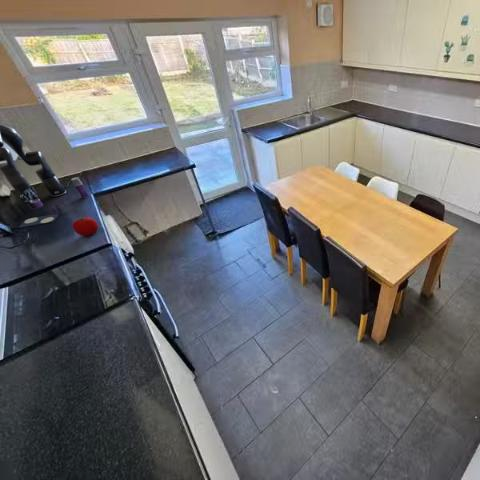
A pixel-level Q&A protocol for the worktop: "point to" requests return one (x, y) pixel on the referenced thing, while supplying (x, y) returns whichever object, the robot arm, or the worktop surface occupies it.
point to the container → (80, 187)
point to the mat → (38, 220)
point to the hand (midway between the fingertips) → (36, 205)
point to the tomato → (85, 226)
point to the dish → (36, 203)
